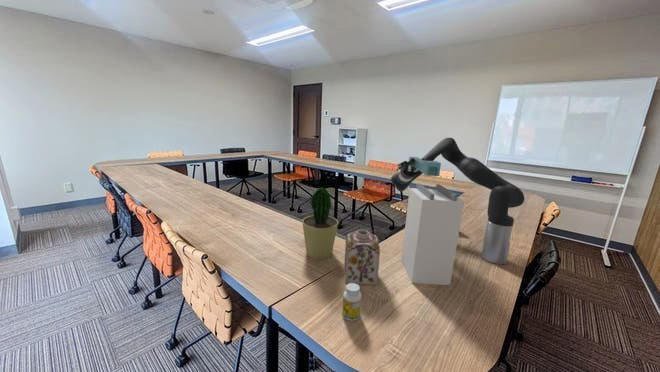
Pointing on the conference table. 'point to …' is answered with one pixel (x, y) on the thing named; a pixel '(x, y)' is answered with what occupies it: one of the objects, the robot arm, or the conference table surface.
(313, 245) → the potted cactus
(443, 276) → the tall white pedestal box
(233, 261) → the conference table surface
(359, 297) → the supplement bottle
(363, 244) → the decorative jar
